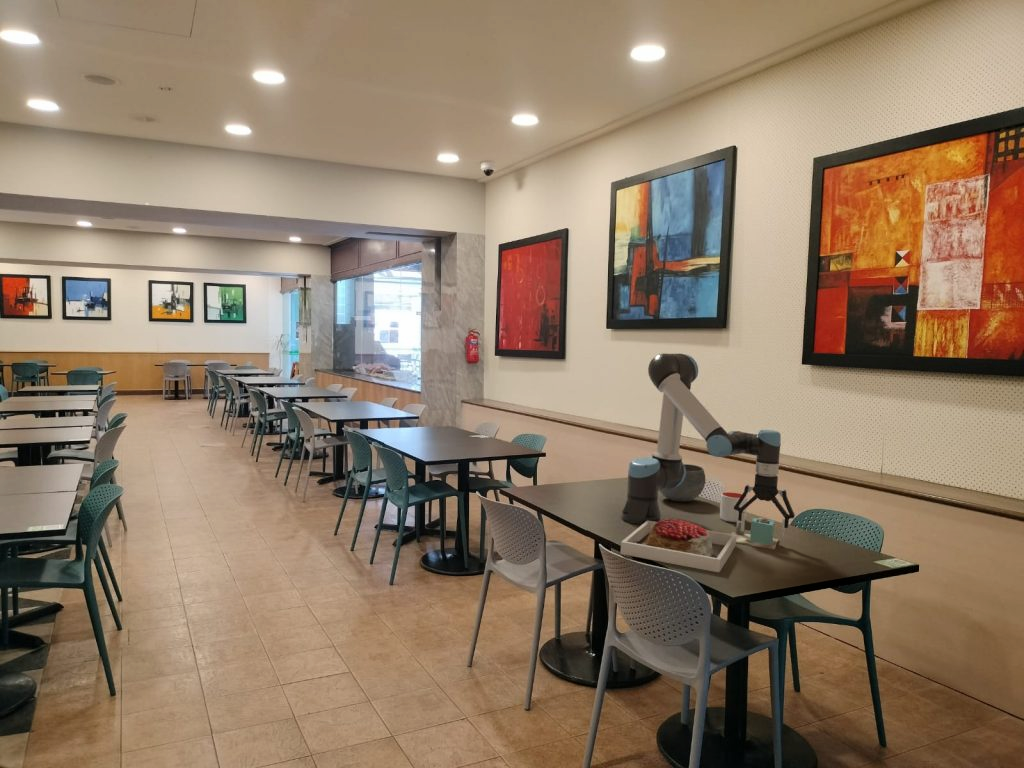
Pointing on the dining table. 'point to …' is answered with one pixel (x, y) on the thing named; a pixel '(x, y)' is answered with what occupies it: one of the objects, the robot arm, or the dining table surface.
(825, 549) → the dining table surface
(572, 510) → the dining table surface
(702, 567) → the cake tray
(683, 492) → the bowl
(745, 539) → the cream base with posts
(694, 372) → the robot arm
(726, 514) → the cup
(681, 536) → the cake
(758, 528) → the mint green cube
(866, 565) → the dining table surface
